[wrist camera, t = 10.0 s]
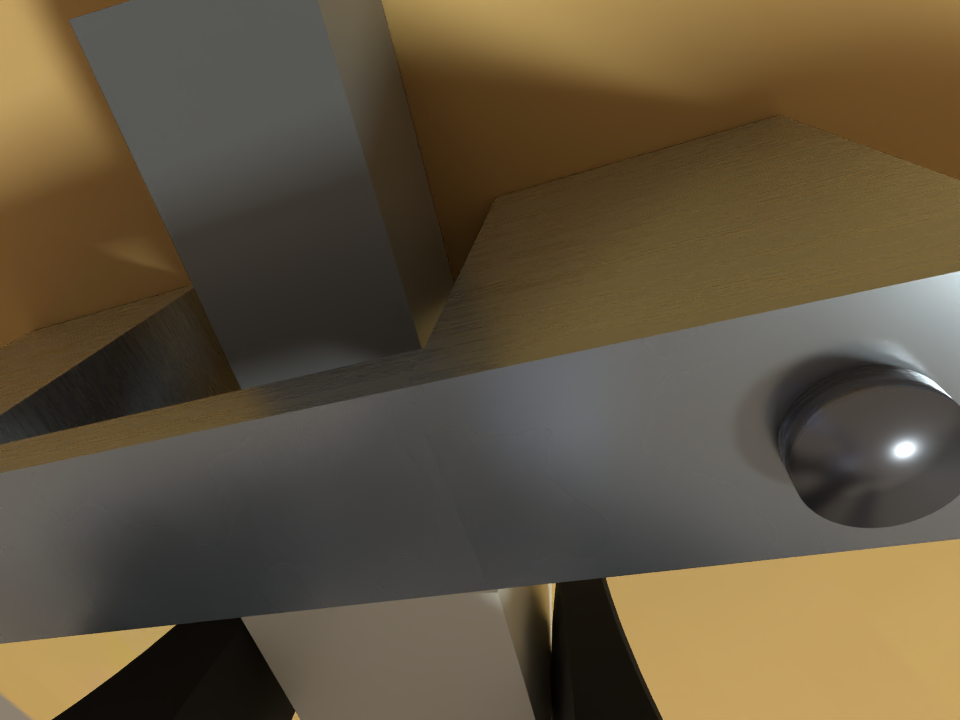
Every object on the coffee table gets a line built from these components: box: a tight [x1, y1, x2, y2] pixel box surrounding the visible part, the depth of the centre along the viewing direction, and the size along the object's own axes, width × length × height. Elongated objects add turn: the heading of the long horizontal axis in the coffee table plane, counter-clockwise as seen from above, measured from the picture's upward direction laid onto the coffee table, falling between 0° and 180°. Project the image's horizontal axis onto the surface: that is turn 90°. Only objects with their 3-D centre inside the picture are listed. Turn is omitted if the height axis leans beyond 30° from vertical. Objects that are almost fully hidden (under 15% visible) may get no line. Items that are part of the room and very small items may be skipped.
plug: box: [69, 0, 552, 720], centre depth 9 cm, size 11×4×4 cm, turn 13°
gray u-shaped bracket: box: [0, 115, 960, 644], centre depth 7 cm, size 2×13×6 cm, turn 107°
